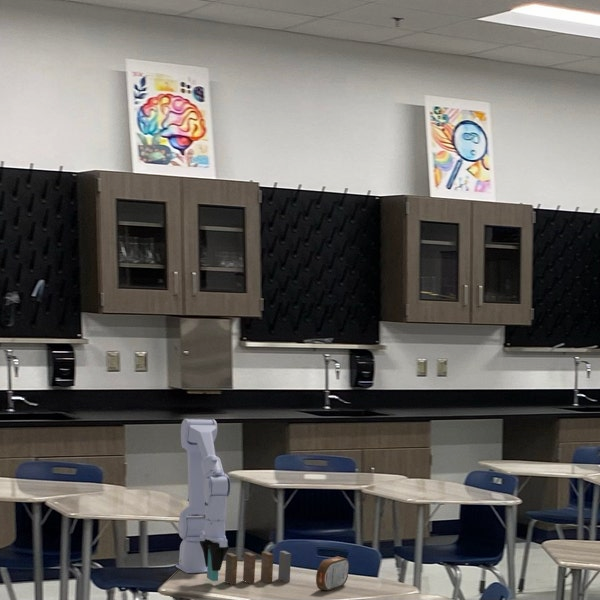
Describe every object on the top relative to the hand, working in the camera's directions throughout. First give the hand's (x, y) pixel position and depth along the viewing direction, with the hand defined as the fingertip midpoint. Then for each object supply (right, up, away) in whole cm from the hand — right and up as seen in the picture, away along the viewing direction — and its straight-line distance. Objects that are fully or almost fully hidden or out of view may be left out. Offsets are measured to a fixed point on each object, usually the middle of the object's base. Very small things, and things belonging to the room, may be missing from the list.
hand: (212, 568), depth 323 cm
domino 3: (+15, -5, +7) cm, 17 cm away
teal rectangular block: (0, -3, 0) cm, 3 cm away
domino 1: (+5, -5, +2) cm, 7 cm away
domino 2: (+10, -5, +5) cm, 12 cm away
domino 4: (+20, -6, +9) cm, 22 cm away
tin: (+33, -6, +3) cm, 34 cm away
